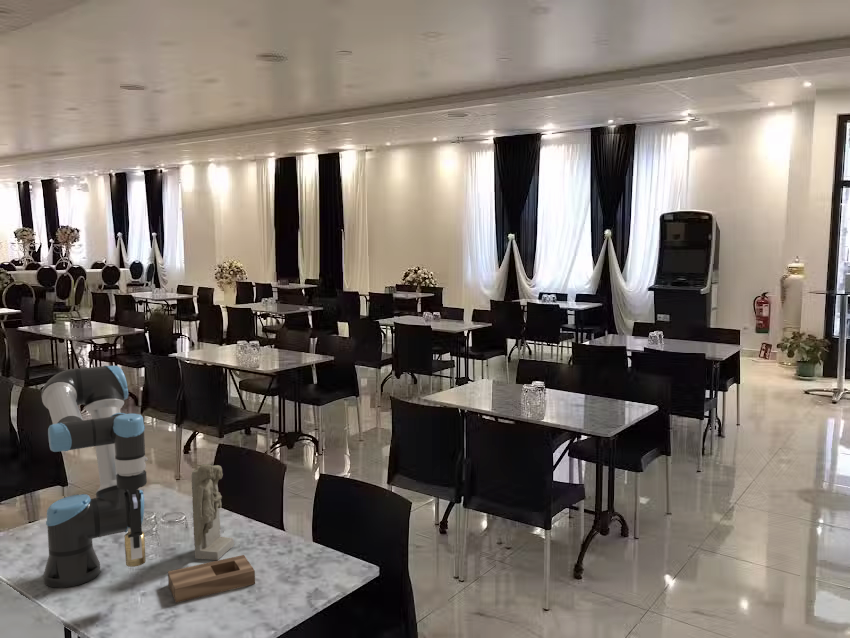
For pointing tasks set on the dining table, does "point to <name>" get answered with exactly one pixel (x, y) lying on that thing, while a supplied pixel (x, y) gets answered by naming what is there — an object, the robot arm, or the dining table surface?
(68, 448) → the robot arm
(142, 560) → the bushing
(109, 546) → the dining table surface
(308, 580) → the dining table surface
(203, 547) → the sculpture
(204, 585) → the block
